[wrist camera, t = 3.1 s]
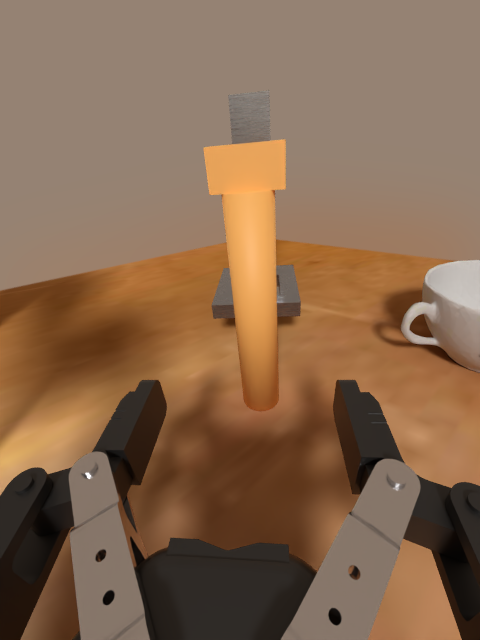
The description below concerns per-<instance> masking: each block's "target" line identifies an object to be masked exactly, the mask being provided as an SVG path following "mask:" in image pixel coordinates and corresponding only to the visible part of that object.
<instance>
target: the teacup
mask: <svg viewBox="0 0 480 640" xmlns="http://www.w3.org/2000/svg"><path fill="white" fill-rule="evenodd" d="M421 314H424V317H425V320H426V323H427V326H428V328H429V330H430V332H431V334H432V336H433V338H431V337H430V338H429V337H427V338H426V337H422V336H418V335H415V334H413V333H412V332H411V331H410V329H409V328H410V324H411V322H412V321H413V320H414V319H415V317H417V316H418V315H421ZM401 331H402V333H403V335H404V337H405V338H406V339H407V340H409V341H410V342H411V343H414V344H428V345H436V346H438V347H440V348H442V349H443V350H444V351H445V352H446V353H447V354H448V356H449V357H450V358H452V359H453V360H454V361H455V362H457V363H458V364H460V365H462V366H464V367H466V368H468V369H470V370H473V371H476V372H479V373H480V260H467V261H455V262H449V263H446V264H442V265H438V266H436V267H434V268H432V269H430V270H428V272H427V274H426V276H425V278H424V283H423V291H422V302H419V303H415V304H413V305H412V306H411V307H410V308H409V309H408V311H407V312H406V313H405V315H404V318H403V321H402V324H401Z"/></svg>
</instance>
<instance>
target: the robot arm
mask: <svg viewBox="0 0 480 640" xmlns="http://www.w3.org/2000/svg"><path fill="white" fill-rule="evenodd" d="M166 410H167V405H166V400H165V397H164V394H163V391H162V388H161V384H160V382H159V381H158V380H142V381H141V382H140V383H139V385H138V387H137V389H136V391H135V392H129V393H128V394H127V395H126V396H125V397H124V398H123V399H122V400H121V401H120V403H119V405H118V407H117V408H116V412H114V414H113V416H112V417H111V420H110V421H109V423H108V425H107V426H106V428H105V430H104V432H103V434H102V436H101V437H100V439H99V441H98V443H97V445H96V446H95V448H94V450H93V451H92V453H89V454H86V455H85V456H83V457H82V458H80V459H79V460H78V461H77V462H76V463H75V464H74V465H73V467H72V468H69V469H65V470H62V471H58V472H55V473H51V474H47V473H46V471H45V470H44V469H42V468H31V469H28V470H26V471H24V472H22V473H20V474H19V475H17V476H16V477H15V478H14V479H13V480H12V481H11V482H10V483H9V484H8V485H7V487H6V488H5V490H4V491H3V493H2V494H1V496H0V640H20V639H21V637H22V634H23V632H24V630H25V628H26V626H27V623H28V621H29V619H30V617H31V614H32V612H33V610H34V608H35V606H36V603H37V601H38V599H39V597H40V595H41V592H42V590H43V588H44V586H45V583H46V581H47V579H48V577H49V575H50V572H51V570H52V568H53V566H54V563H55V561H56V559H57V557H58V555H59V552H60V550H61V548H62V546H63V543H64V541H65V539H66V537H67V535H68V532H69V530H70V528H71V527H73V526H74V529H72V530H71V531H70V545H71V554H72V563H73V572H74V581H75V590H76V599H77V608H78V617H79V626H80V631H79V632H78V633H77V634H76V636H75V637H74V638H73V639H72V640H368V637H369V635H370V632H371V629H372V626H373V623H374V621H375V618H376V615H377V612H378V609H379V607H380V604H381V601H382V598H383V596H384V593H385V590H386V587H387V584H388V582H389V579H390V576H391V573H392V571H393V568H394V565H395V562H396V559H397V557H398V554H399V550H400V545H401V542H402V540H403V539H406V540H408V541H411V542H413V543H416V544H418V545H421V546H423V547H426V548H428V549H431V551H432V554H433V556H434V559H435V562H436V565H437V568H438V571H439V574H440V577H441V580H442V583H443V586H444V589H445V591H446V594H447V597H448V600H449V603H450V606H451V609H452V612H453V615H454V618H455V621H456V623H457V626H458V629H459V632H460V635H461V638H462V640H480V486H478V485H475V484H472V483H467V482H461V483H457V484H455V485H454V486H453V487H452V488H449V487H446V486H443V485H440V484H437V483H434V482H431V481H428V480H425V479H423V478H421V477H420V476H418V475H416V474H415V472H414V471H413V470H412V469H411V468H410V467H409V466H407V465H406V464H405V463H404V461H403V459H402V457H401V455H400V453H399V450H398V448H397V445H396V443H395V441H394V438H393V436H392V433H391V431H390V429H389V426H388V424H387V421H386V419H385V417H384V415H383V412H382V409H381V407H380V405H379V402H378V401H377V400H376V399H375V398H374V397H373V396H372V395H371V394H370V393H369V392H360V390H359V387H358V385H357V382H356V381H355V380H337V381H336V388H335V396H334V404H333V411H334V418H335V423H336V427H337V431H338V435H339V439H340V444H341V448H342V452H343V456H344V460H345V465H346V469H347V473H348V477H349V481H350V486H351V490H352V494H360V496H359V498H358V500H357V502H356V504H355V506H354V508H353V510H352V511H351V512H350V513H349V514H348V515H347V517H346V519H345V520H344V522H343V524H342V526H341V528H340V530H339V532H338V534H337V536H336V538H335V540H334V542H333V543H332V545H331V547H330V549H329V551H328V553H327V555H326V557H325V559H324V561H323V563H322V565H321V567H320V568H319V570H318V572H316V571H315V570H314V569H313V568H312V567H311V566H310V565H309V564H307V563H306V562H305V561H303V560H302V559H300V558H298V557H296V556H294V555H291V554H289V547H288V545H287V544H270V543H256V544H252V545H248V546H244V547H240V548H236V549H233V550H224V549H221V548H219V547H216V546H214V545H211V544H209V543H206V542H204V541H201V540H199V539H183V538H170V542H169V546H168V547H167V548H164V549H162V550H159V551H157V552H155V553H154V554H152V555H150V556H149V557H148V554H147V551H146V549H145V546H144V544H143V542H142V539H141V536H140V533H139V530H138V526H137V523H136V520H135V516H134V513H133V509H132V506H131V503H130V499H129V496H128V494H127V493H128V491H129V488H130V486H131V485H141V482H142V479H143V476H144V474H145V471H146V468H147V465H148V463H149V460H150V457H151V454H152V452H153V449H154V446H155V443H156V441H157V438H158V435H159V432H160V430H161V427H162V424H163V421H164V419H165V416H166Z"/></svg>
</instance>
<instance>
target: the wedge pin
mask: <svg viewBox="0 0 480 640" xmlns="http://www.w3.org/2000/svg"><path fill="white" fill-rule="evenodd" d="M204 155H205V163H206V171H207V178H208V186H209V193H210V195H217V194H222V203H223V212H224V222H225V231H226V240H227V249H228V259H229V268H230V277H231V286H232V295H233V304H234V314H235V323H236V332H237V341H238V350H239V360H240V369H241V378H242V387H243V396H244V402H245V404H246V405H247V406H248V407H249V408H251V409H253V410H256V411H266V410H269V409H271V408H273V407H274V406H275V405H276V404H277V402H278V399H279V388H278V335H277V282H276V229H275V190H281V189H286V140H284V139H283V140H273V141H263V142H252V143H242V144H232V145H222V146H211V147H205V148H204Z"/></svg>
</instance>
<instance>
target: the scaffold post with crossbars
mask: <svg viewBox="0 0 480 640" xmlns="http://www.w3.org/2000/svg"><path fill="white" fill-rule="evenodd" d="M229 108H230V121H231V133H232V144H242V143H252V142H263V141H270V105H269V91H261V92H253V93H243V94H236V95H229ZM276 282H277V317H282V316H300V305H301V302H300V297H299V292H298V287H297V282H296V277H295V273H294V268H293V265H282V266H276ZM212 310H213V317H214V319H216V318H235V314H234V304H233V295H232V286H231V277H230V268H224V269H223V272H222V276H221V279H220V282H219V285H218V288H217V291H216V294H215V297H214V300H213V303H212Z"/></svg>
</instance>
